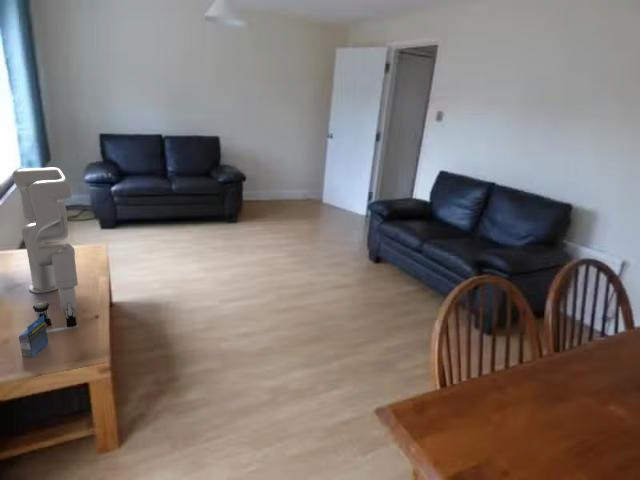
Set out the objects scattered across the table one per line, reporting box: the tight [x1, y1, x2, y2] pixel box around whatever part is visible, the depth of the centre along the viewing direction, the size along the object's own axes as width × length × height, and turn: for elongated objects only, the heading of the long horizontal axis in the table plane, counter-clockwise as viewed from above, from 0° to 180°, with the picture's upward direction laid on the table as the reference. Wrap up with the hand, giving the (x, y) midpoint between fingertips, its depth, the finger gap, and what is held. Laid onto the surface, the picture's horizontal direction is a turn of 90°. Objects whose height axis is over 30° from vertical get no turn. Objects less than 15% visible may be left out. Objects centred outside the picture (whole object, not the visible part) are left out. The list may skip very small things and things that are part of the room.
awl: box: [63, 309, 78, 327], centre depth 165 cm, size 4×4×10 cm
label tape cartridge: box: [18, 315, 49, 358], centre depth 150 cm, size 9×4×12 cm, turn 178°
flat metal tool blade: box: [46, 324, 79, 334], centre depth 165 cm, size 2×13×1 cm, turn 122°
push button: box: [32, 301, 52, 328], centre depth 164 cm, size 7×5×10 cm
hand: (71, 322), depth 166 cm, fingers closed on awl, 3 cm apart
